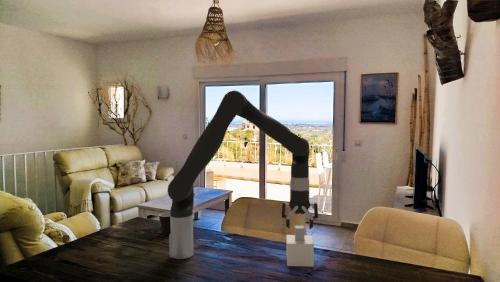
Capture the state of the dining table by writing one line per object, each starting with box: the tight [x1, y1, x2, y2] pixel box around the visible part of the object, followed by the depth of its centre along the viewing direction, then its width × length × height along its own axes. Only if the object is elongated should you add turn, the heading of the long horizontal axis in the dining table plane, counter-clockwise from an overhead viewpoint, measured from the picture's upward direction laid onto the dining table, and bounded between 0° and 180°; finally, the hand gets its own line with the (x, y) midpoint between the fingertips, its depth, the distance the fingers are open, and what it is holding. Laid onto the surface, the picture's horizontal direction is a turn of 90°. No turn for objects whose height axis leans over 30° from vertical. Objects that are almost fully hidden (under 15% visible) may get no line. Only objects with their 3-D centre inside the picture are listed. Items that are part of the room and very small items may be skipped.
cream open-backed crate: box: [285, 225, 315, 268], centre depth 135 cm, size 10×10×14 cm
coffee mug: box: [158, 211, 171, 236], centre depth 171 cm, size 12×9×10 cm
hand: (299, 228), depth 134 cm, fingers open, 8 cm apart
